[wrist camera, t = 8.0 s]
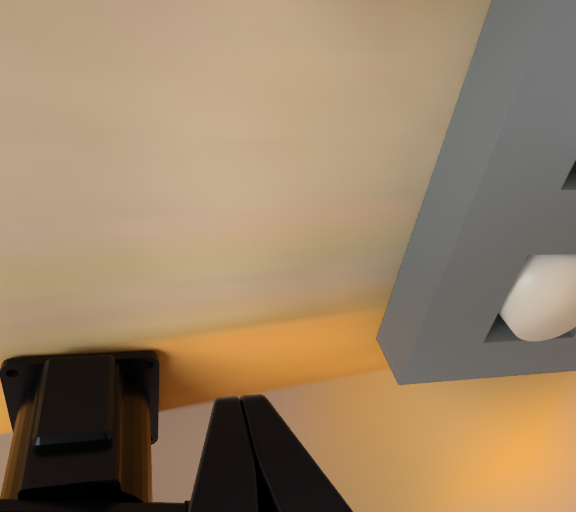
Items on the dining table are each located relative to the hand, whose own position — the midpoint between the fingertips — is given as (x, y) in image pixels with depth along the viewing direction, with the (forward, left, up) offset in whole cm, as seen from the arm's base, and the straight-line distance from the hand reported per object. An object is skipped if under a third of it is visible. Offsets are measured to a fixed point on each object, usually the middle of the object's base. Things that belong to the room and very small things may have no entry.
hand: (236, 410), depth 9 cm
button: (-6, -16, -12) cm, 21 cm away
